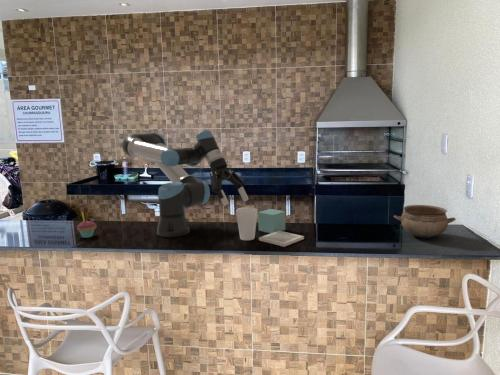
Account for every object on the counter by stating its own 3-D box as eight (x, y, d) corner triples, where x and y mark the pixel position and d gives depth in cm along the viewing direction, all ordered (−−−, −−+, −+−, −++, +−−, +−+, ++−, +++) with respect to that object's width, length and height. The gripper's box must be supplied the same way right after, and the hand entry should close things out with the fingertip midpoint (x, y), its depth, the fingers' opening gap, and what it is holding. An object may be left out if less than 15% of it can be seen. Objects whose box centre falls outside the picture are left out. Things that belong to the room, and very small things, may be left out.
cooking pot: (394, 241, 171) (396, 213, 169) (391, 229, 189) (392, 203, 187) (459, 244, 165) (461, 215, 163) (449, 231, 183) (451, 205, 181)
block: (258, 230, 192) (258, 212, 190) (270, 226, 198) (270, 208, 197) (273, 234, 186) (272, 215, 184) (285, 229, 192) (285, 211, 191)
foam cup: (232, 238, 181) (231, 209, 178) (248, 233, 186) (247, 206, 184) (246, 242, 173) (245, 213, 171) (262, 238, 179) (261, 209, 177)
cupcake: (73, 238, 186) (71, 212, 183) (86, 233, 193) (83, 208, 191) (89, 239, 183) (86, 213, 181) (101, 234, 191) (99, 209, 189)
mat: (258, 240, 177) (258, 237, 176) (279, 233, 187) (279, 230, 186) (284, 246, 167) (284, 243, 167) (303, 238, 177) (303, 236, 177)
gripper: (201, 158, 171) (222, 202, 167) (239, 155, 191) (259, 195, 186) (191, 167, 176) (212, 210, 171) (229, 164, 195) (248, 202, 190)
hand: (236, 202), depth 178 cm, fingers open, 13 cm apart
